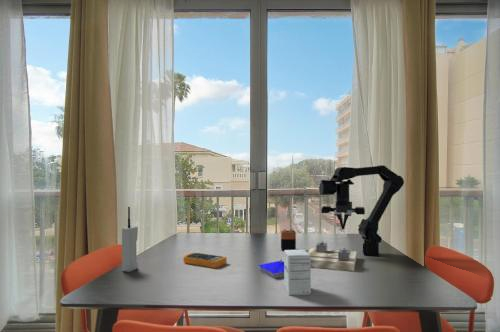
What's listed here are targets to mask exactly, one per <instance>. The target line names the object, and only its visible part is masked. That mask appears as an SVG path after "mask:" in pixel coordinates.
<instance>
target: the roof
mask: <svg viewBox="0 0 500 332" xmlns="http://www.w3.org/2000/svg"><path fill="white" fill-rule="evenodd" d="M257 267H259V268H260V270H259V271H260V272H262V273H264V274H266V275H267V276H270V277H271V278H273V279H278V278H284V260H283V261H282V259H280V260H277V261H272V262H268V263H262V264H258V265H257Z"/></svg>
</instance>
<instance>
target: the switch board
mask: <svg viewBox="0 0 500 332" xmlns="http://www.w3.org/2000/svg"><path fill="white" fill-rule="evenodd" d="M307 252H308V253H309V254H310V257H311V268H314V269H315V268H316V269H327V270H337V271H348V272H354V271H355V267H356V264H357V259H358V258H357V257H358V254H357V253H358V251H356V250H350V258H349V261H346V260H338V252H339V249H331V248H330V249H329V248H327V251H326V253H323V252H316V247H311V248H310V249H309V250H308V251H307Z"/></svg>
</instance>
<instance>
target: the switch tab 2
mask: <svg viewBox="0 0 500 332" xmlns="http://www.w3.org/2000/svg"><path fill="white" fill-rule="evenodd" d="M338 250H339V252H338V260H346V261H349V258H350V251H351V250H350V249H346V247H343V248H342V249H338Z"/></svg>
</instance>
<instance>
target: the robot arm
mask: <svg viewBox="0 0 500 332" xmlns="http://www.w3.org/2000/svg"><path fill="white" fill-rule="evenodd" d="M370 175H378V176H379V177H380V179H381V180H382V181H383V189H382V192H381V194H380V196H378V197H379V198H378V200H377V201H376V203H375V205H374V207H373V209H372V211H371V213H370V214H369V216H368V217H367V218H366V219H365V218H362V219H361V221H360V224H358V228H357V230H358V233H359V235H360V236H361V238H362V240H363V243H362V254H363V255H364V256H370V257H380V252H379V251H380V248H379V247H380V245H379V244H380V243H381V242H382V239H383V237H381V235H380V234H378V231H379V223H380V220H381V219H382V216H383V215H384V214H385V211H386V210H387V207H388V206H389V203H390V202H391V201H392V199H393V196H395V194H396V193H398V192H399V191H400V190H401V188H402V187H403V186H404V183H405V181H404V178H403V177H402V176H401V175H398V174H396V173H395V172H394V171H393V170H391V169H390V168H388V167H387V166H385V164H384V165H379V164H378V165H376V166H375V165H374V166H373V165H372V166H363V167H348V166H338V167H336V169H335V170H334V174H333V175H332V177H331V178H330V179H329V180H328V179H321V180H320V183H319V186H318V191H319V194H320V195H321V196H331V195H332V196H333V195H335V194H336V195H335V196H336V197H335V198H336V200H335V201H336V202H335V207H332V205H323V206H322V207H321V211H320V212H321V214H329V213H330V212H331V213H332V212H334V213H333V215H334V216H336V217H337V218H338V221H339V224H340V227H341V230H344V229H345V228H346V224H347V221H348V219H349V217H351V216H352V215H353V214H352V213H354V214H356V215H365V214H366V212H365V211H366V209H365V207H364V206H355V207H354V208H353V201H350V185H354V184H355V183H354V182H353V181H352V180H351V179H353V178H356V177H360V176H361V177H363V176H370Z"/></svg>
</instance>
